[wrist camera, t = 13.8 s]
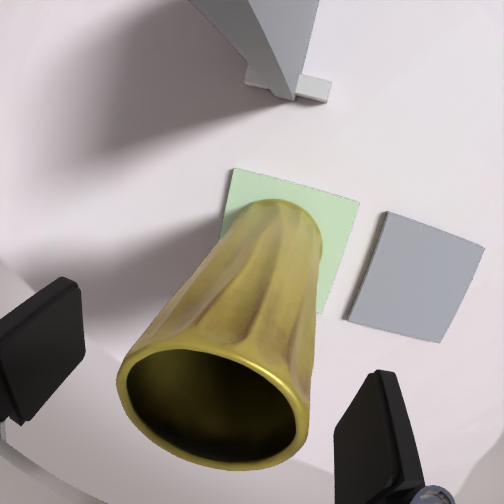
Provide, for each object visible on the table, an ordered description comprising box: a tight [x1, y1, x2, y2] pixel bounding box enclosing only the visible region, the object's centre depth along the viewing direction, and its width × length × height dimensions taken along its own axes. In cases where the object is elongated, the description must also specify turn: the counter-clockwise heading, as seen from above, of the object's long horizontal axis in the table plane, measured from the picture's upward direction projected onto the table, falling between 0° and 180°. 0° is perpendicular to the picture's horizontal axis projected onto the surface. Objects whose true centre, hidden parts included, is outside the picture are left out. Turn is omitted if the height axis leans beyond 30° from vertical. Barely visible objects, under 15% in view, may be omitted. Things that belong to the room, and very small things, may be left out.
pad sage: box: [219, 168, 360, 314], centre depth 21 cm, size 8×8×1 cm
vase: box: [116, 199, 323, 471], centre depth 14 cm, size 6×6×14 cm
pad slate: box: [348, 211, 485, 343], centre depth 20 cm, size 8×8×1 cm
